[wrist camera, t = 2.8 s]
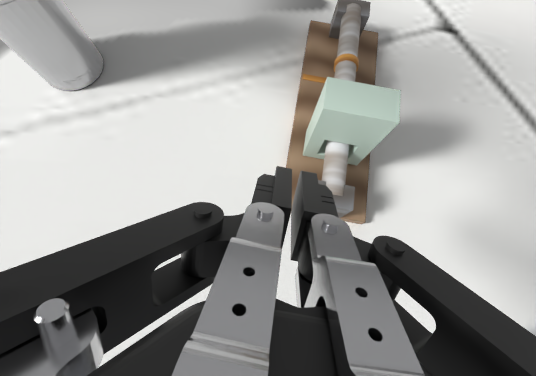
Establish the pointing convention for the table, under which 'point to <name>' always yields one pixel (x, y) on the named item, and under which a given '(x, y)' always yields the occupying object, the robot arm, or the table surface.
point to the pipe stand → (311, 84)
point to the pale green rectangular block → (352, 118)
